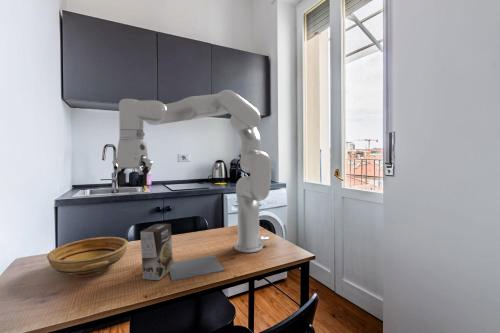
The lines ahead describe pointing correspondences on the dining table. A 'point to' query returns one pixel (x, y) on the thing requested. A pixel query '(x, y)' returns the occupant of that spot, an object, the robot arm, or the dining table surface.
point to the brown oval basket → (87, 255)
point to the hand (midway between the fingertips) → (132, 185)
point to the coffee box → (156, 251)
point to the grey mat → (195, 267)
